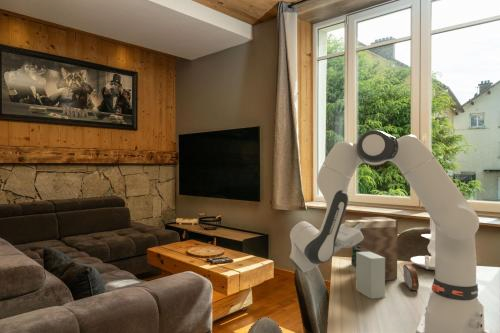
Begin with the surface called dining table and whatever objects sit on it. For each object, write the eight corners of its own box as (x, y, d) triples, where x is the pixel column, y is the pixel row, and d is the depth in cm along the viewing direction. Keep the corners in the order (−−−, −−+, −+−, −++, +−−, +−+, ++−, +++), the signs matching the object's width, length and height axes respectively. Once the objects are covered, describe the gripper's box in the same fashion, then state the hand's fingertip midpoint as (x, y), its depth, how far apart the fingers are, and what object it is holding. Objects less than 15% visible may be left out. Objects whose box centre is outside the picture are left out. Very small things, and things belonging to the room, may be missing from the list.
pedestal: (370, 298, 130) (371, 258, 130) (355, 289, 140) (356, 252, 139) (384, 297, 131) (385, 257, 131) (368, 288, 141) (369, 251, 141)
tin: (419, 293, 136) (419, 272, 136) (410, 293, 136) (411, 271, 136) (409, 281, 151) (410, 261, 150) (402, 280, 151) (402, 261, 151)
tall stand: (373, 281, 150) (374, 221, 150) (360, 274, 159) (360, 217, 159) (397, 278, 153) (397, 220, 153) (382, 272, 163) (383, 216, 162)
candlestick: (401, 270, 166) (402, 211, 166) (417, 259, 184) (418, 207, 184) (450, 280, 152) (451, 216, 152) (462, 267, 171) (463, 211, 171)
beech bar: (350, 228, 131) (350, 222, 131) (345, 226, 135) (345, 220, 135) (395, 226, 136) (395, 220, 136) (389, 225, 140) (389, 218, 140)
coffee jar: (348, 265, 174) (349, 228, 173) (357, 262, 179) (358, 226, 179) (365, 269, 166) (366, 231, 166) (374, 266, 171) (375, 229, 171)
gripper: (340, 241, 120) (370, 220, 123) (313, 230, 140) (340, 212, 143) (347, 256, 121) (377, 235, 124) (320, 243, 141) (347, 225, 144)
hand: (357, 222), depth 134 cm, fingers closed on beech bar, 4 cm apart
